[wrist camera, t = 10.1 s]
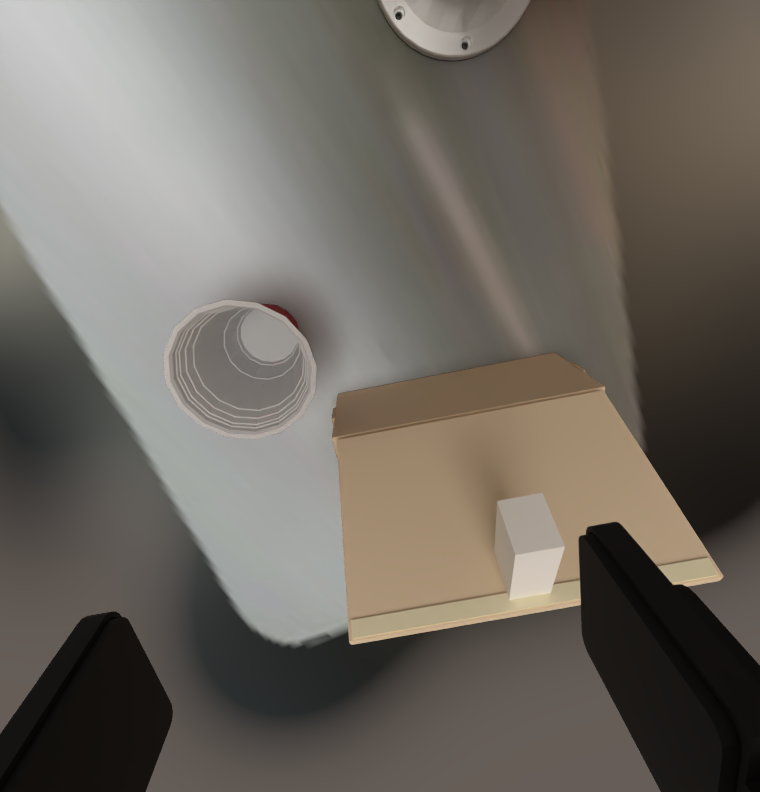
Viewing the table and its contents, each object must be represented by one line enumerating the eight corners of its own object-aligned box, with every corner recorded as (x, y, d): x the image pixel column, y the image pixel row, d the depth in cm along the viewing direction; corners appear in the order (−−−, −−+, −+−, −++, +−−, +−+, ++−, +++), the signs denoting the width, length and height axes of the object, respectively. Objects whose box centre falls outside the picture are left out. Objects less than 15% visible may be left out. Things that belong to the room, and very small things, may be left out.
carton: (335, 393, 46) (328, 437, 37) (557, 351, 46) (608, 385, 36) (366, 524, 52) (367, 590, 43) (564, 488, 51) (609, 548, 42)
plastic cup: (253, 407, 46) (219, 466, 35) (189, 312, 43) (129, 345, 32) (347, 358, 45) (343, 404, 34) (290, 256, 41) (263, 270, 30)
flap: (338, 444, 37) (318, 387, 32) (601, 395, 36) (620, 329, 32) (351, 644, 27) (324, 603, 22) (719, 580, 26) (773, 524, 21)
